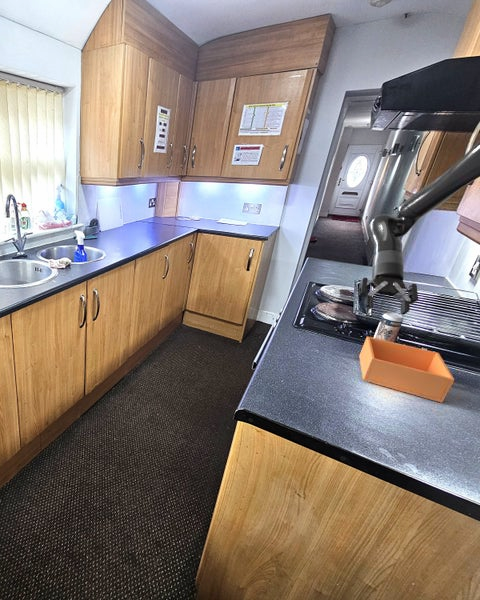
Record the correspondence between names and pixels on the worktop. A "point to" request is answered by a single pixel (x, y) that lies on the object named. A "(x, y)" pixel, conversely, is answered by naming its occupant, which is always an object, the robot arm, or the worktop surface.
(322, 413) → the worktop surface
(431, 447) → the worktop surface
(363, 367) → the tote
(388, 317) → the beer can
